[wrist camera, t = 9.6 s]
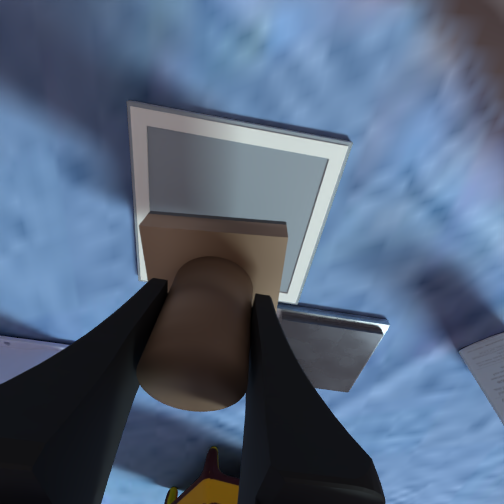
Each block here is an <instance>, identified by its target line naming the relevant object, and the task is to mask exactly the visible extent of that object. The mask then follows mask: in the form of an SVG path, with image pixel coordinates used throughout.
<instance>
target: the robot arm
mask: <svg viewBox="0 0 504 504" xmlns="http://www.w3.org/2000/svg"><path fill="white" fill-rule="evenodd" d="M167 295H168V280H165V279H158V278H152V279H150V280H149V281H148V282H147V283H146V284H145V285H144V286H143V287H142V288H141V289H140V290H139V291H138V292H137V293H136V294H135V295H134V296H132V297H131V298H130V299H129V300H128V301H127V302H126V303H125V304H123V305H122V306H121V307H120V308H119V309H118V310H117V311H115V312H114V313H113V314H112V315H111V316H109V317H108V318H107V319H105V320H104V321H103V322H102V323H100V324H99V325H98V326H97V327H95V328H94V329H93V330H91V331H90V332H88V333H87V334H86V335H84V336H83V337H81V338H80V339H78V340H77V341H75V342H74V343H72V344H71V345H66V344H59V343H51V342H44V341H37V340H29V339H22V338H15V337H8V336H0V504H101V502H102V498H103V495H104V492H105V488H106V485H107V481H108V478H109V475H110V472H111V468H112V465H113V462H114V459H115V455H116V452H117V449H118V446H119V443H120V440H121V437H122V434H123V430H124V427H125V424H126V421H127V418H128V415H129V412H130V409H131V406H132V403H133V401H134V398H135V395H136V393H137V390H138V388H139V385H140V384H139V382H138V379H137V376H136V368H137V365H138V363H139V360H140V358H141V356H142V353H143V351H144V349H145V346H146V344H147V342H148V339H149V337H150V335H151V332H152V330H153V328H154V325H155V323H156V321H157V318H158V316H159V314H160V311H161V309H162V306H163V304H164V302H165V299H166V297H167ZM237 504H385V497H384V493H383V490H382V486H381V483H380V480H379V477H378V474H377V472H376V469H375V466H374V464H373V461H372V459H371V458H370V456H369V455H368V454H367V453H366V452H365V451H364V450H363V449H362V448H361V446H360V445H359V444H358V443H357V442H356V441H355V440H354V439H353V438H352V436H351V435H350V434H349V433H348V432H347V431H346V429H345V428H344V427H343V426H342V424H341V423H340V422H339V421H338V420H337V418H336V417H335V416H334V414H333V413H332V412H331V410H330V409H329V408H328V406H327V405H326V404H325V402H324V401H323V400H322V398H321V397H320V395H319V394H318V393H317V391H316V390H315V388H314V387H313V385H312V384H311V382H310V381H309V379H308V377H307V376H306V374H305V372H304V371H303V369H302V367H301V366H300V364H299V362H298V360H297V358H296V357H295V355H294V353H293V351H292V349H291V347H290V345H289V343H288V341H287V338H286V336H285V334H284V331H283V329H282V327H281V324H280V322H279V319H278V317H277V314H276V311H275V308H274V305H273V301H272V298H271V297H270V295H263V294H256V293H255V297H254V301H253V306H252V317H251V336H250V353H249V371H248V387H247V391H246V410H245V424H244V436H243V448H242V459H241V470H240V481H239V491H238V502H237Z"/></svg>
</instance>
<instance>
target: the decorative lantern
mask: <svg viewBox="0 0 504 504" xmlns="http://www.w3.org/2000/svg"><path fill="white" fill-rule="evenodd" d="M239 481H240V478H236V477H232V476H228V475H225V474H224V473H222V472H221V471H220V470H219V465H218V450H217V447H211V448H210V449H209V451H208V453H207V457H206V461H205V465H204V469H203V472H202V474H201V476H200V477H199V478H198V479H197V480H196V481H195V482H194V483H193V484H192V485H191V486H190V487H188V488H187V489H186V490H185V491H184V492H183V493H182V494H181V495H180V496H179V497H178V498H177V495H178V490H177V488H175V487H172V488H171V489H169V491H168V493H167V496H166V499H165V503H164V504H237V502H238V491H239Z"/></svg>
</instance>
